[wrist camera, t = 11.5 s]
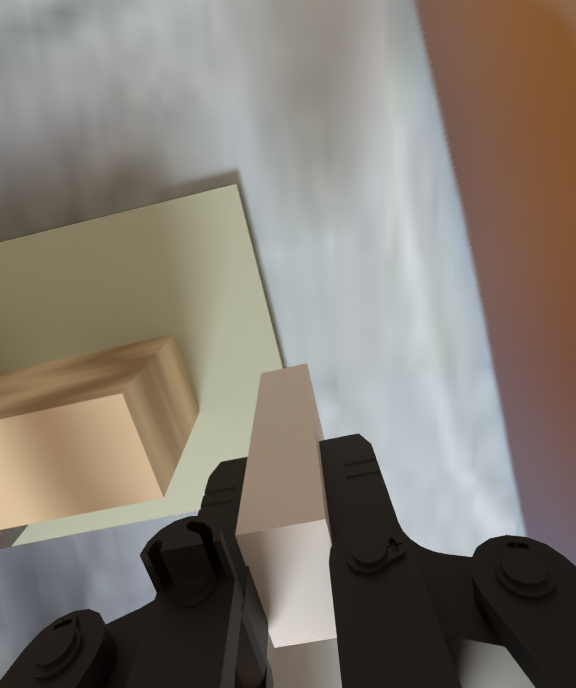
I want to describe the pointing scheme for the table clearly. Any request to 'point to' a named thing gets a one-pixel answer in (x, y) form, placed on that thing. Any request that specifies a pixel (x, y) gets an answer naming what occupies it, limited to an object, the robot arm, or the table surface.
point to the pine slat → (92, 431)
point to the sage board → (149, 322)
